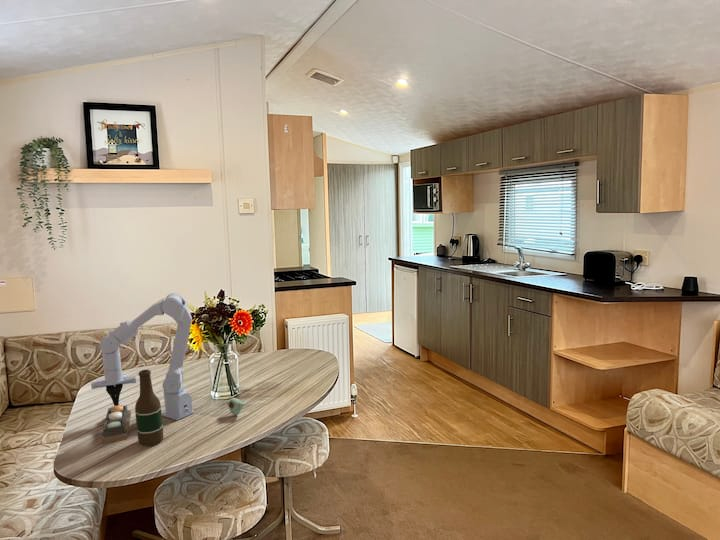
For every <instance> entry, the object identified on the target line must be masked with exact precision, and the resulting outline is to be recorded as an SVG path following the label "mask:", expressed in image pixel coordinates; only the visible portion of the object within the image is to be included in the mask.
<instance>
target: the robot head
mask: <svg viewBox="0 0 720 540" xmlns="http://www.w3.org/2000/svg"><path fill="white" fill-rule="evenodd" d="M226 405H227V407H228V410H229V411H230V413H231V414H232V415H233V416H238V415H240V413H241V410H242V409H243V408H244V407H245V405H246V403H245V402H243V401H242V400H240V399H238V398H237V397H232V398H230V399H229V400H226Z"/></svg>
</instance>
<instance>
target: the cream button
mask: <svg viewBox="0 0 720 540" xmlns="http://www.w3.org/2000/svg"><path fill="white" fill-rule="evenodd" d="M116 419H122V412H113V413H111V414H109V421H110V420H116Z"/></svg>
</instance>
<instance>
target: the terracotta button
mask: <svg viewBox="0 0 720 540" xmlns="http://www.w3.org/2000/svg"><path fill="white" fill-rule="evenodd" d="M123 406H124V405H123V404H119V405H118V406H114V405H113V406H111V407H109V408H110V409H111V413H113V412H123V411H124V409H123Z"/></svg>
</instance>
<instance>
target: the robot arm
mask: <svg viewBox="0 0 720 540" xmlns="http://www.w3.org/2000/svg"><path fill="white" fill-rule="evenodd" d="M164 314H166V315H167V316H169V317H170V318H172V319H173V320H174V321H175V322H176V323H177V327H176V332H175V337H174V341H173V342H174V343H173V347H172V352H171V357H170V362H169V367H168V371H167V373H166V374H165V379H164V380H163V382H162V389H163V399H164V412H161V413H162V417H165V418H168V419H171V420H175V421H178V420H179V421H180V419H183V418H185V417H187V416H189V415H192V414H194V413H195V410H193V403H192V396H191V394H190V393H188V392H187V391H186V390H185V386H184V385H183V380H184V374H183V373H184V372H183V369H184V361H185V358H186V357H185V356H186V353H187V351H186V350H187V346H188V342H189V336H190V332H191V325H192V320H193V317H192V314H191V312H190V310H189V307H188V304H187V302H186V299H184V298H183V297H182V296H181V295H180V294H178V293H175V292H174V293H173V292H171V293H169V294H168V295H167V296H166V297H163V298H161V299H159V300H158V301H156V302H155V303H153V304H152V305H150V306H149V307H148V308H146V310H144V311H143V312H141V313H140V314H139V315H138V316H137V317H136V318H134V319H133V320H126V321H121V322H120V323H119V326H117V327H116V328H115V329H114V330H110V331H109V332H108V334H106V335H105V336H104V337H103V338H102V339H101V340H100V342H99V349H100V351H101V352H102V366H103V374H104V379H102V380H98V381H92V382H91V383H90V385H91V387H90V388H91V390H95V389H98V388H99V389H100V388H105V391H106V392H107V394H108V396H110V398H111V400H112V403H113V406H118V405H120V394H121V392H122V390H123V385H127V384H136V383H137V376H136V375H135V376H123V371H122V370H123V369H122V368H123V367H122V359H121V353H120V346H121V345H123V344H125V343H126V342H127V341H129V340H130V339H132V338H133V337H134V336H136V335H137V334H138V331H139V328H140V327H142V326H143V325H144V324H146V323H148V322H149V321H150V320H151V319H153V318H155V317H156V316H164Z"/></svg>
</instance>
